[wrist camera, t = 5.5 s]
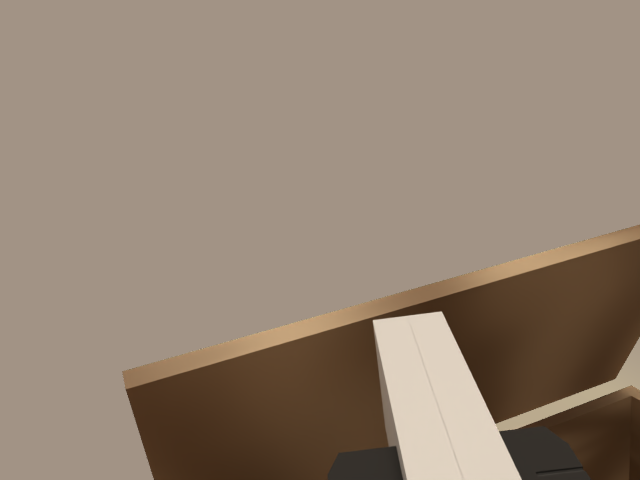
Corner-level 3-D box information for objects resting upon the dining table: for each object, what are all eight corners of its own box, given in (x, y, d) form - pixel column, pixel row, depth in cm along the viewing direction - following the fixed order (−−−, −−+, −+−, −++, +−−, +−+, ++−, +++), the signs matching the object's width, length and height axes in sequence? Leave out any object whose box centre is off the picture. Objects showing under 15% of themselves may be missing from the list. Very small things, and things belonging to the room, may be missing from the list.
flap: (615, 378, 24) (606, 369, 24) (708, 218, 18) (694, 209, 19) (174, 543, 19) (170, 528, 19) (125, 389, 13) (122, 371, 14)
